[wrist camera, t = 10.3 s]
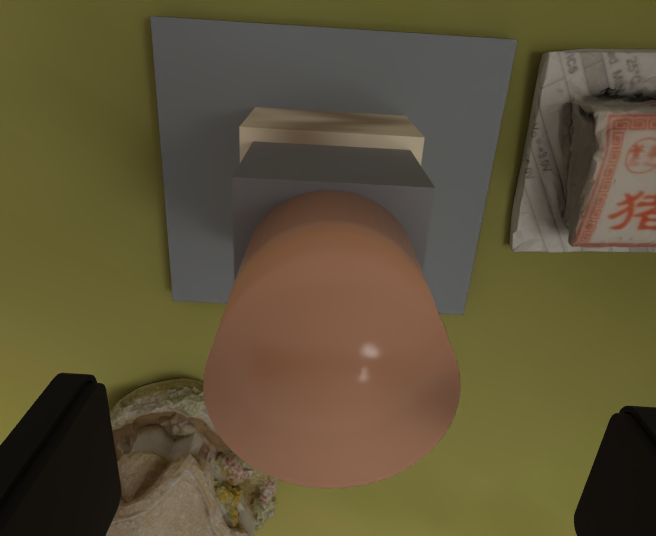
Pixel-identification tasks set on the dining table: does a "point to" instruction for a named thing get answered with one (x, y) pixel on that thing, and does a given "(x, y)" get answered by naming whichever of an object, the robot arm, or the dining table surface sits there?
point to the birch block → (330, 129)
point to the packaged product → (589, 155)
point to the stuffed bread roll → (182, 468)
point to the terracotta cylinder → (331, 348)
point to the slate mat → (322, 95)
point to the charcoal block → (329, 185)
